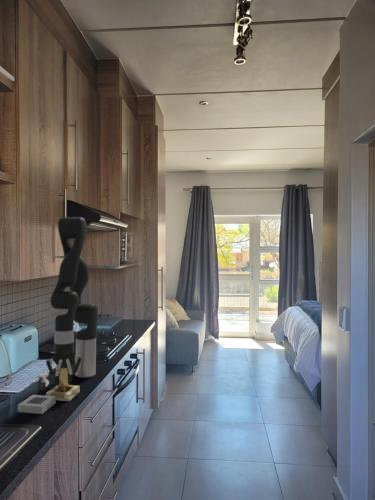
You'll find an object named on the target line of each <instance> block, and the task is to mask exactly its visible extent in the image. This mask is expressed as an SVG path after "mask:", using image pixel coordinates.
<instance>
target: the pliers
mask: <svg viewBox="0 0 375 500" xmlns="http://www.w3.org/2000/svg"><path fill="white" fill-rule="evenodd" d="M49 373H50V372H47V373H44V374H43V372H40V374H39V375H38V378H36V380H35V379H34V380H35V382H33V383H32V384H35V383H38V382H39V380H40V383H43V384H45V385H44V387H45V388H47V387H48V386H49V384H50V381H49V380H48V379H47V378H48V377H49V375H50V374H49Z"/></svg>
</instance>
